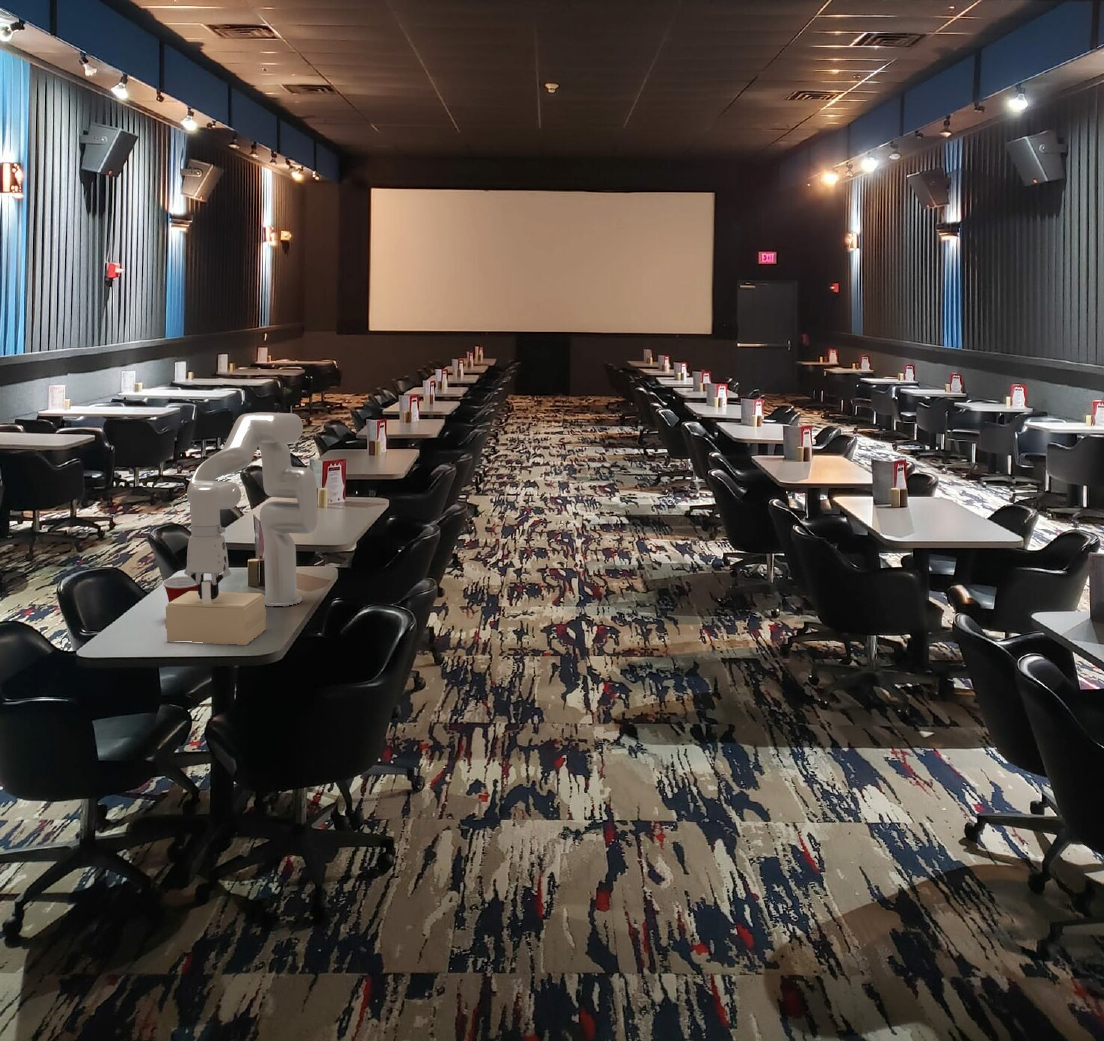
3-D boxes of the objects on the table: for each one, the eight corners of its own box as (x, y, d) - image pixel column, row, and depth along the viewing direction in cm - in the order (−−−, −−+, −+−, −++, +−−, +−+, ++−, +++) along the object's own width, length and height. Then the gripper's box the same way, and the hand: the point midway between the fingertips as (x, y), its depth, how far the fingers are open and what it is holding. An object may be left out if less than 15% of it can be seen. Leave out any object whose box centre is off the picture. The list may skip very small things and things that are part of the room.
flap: (189, 593, 332) (188, 570, 331) (262, 595, 330) (261, 572, 329) (167, 605, 317) (166, 581, 316) (243, 608, 315) (243, 584, 314)
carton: (189, 627, 334) (188, 592, 333) (266, 629, 332) (265, 595, 331) (166, 642, 319) (164, 606, 317) (246, 645, 317) (245, 609, 315)
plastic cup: (161, 625, 335) (159, 584, 333) (166, 616, 346) (164, 576, 344) (201, 624, 338) (199, 583, 335) (204, 615, 348) (203, 575, 346)
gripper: (240, 529, 318) (242, 596, 321) (182, 528, 320) (185, 594, 323) (230, 534, 311) (232, 602, 314) (171, 532, 312) (174, 600, 315)
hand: (208, 597), depth 318 cm, fingers closed on flap, 2 cm apart
